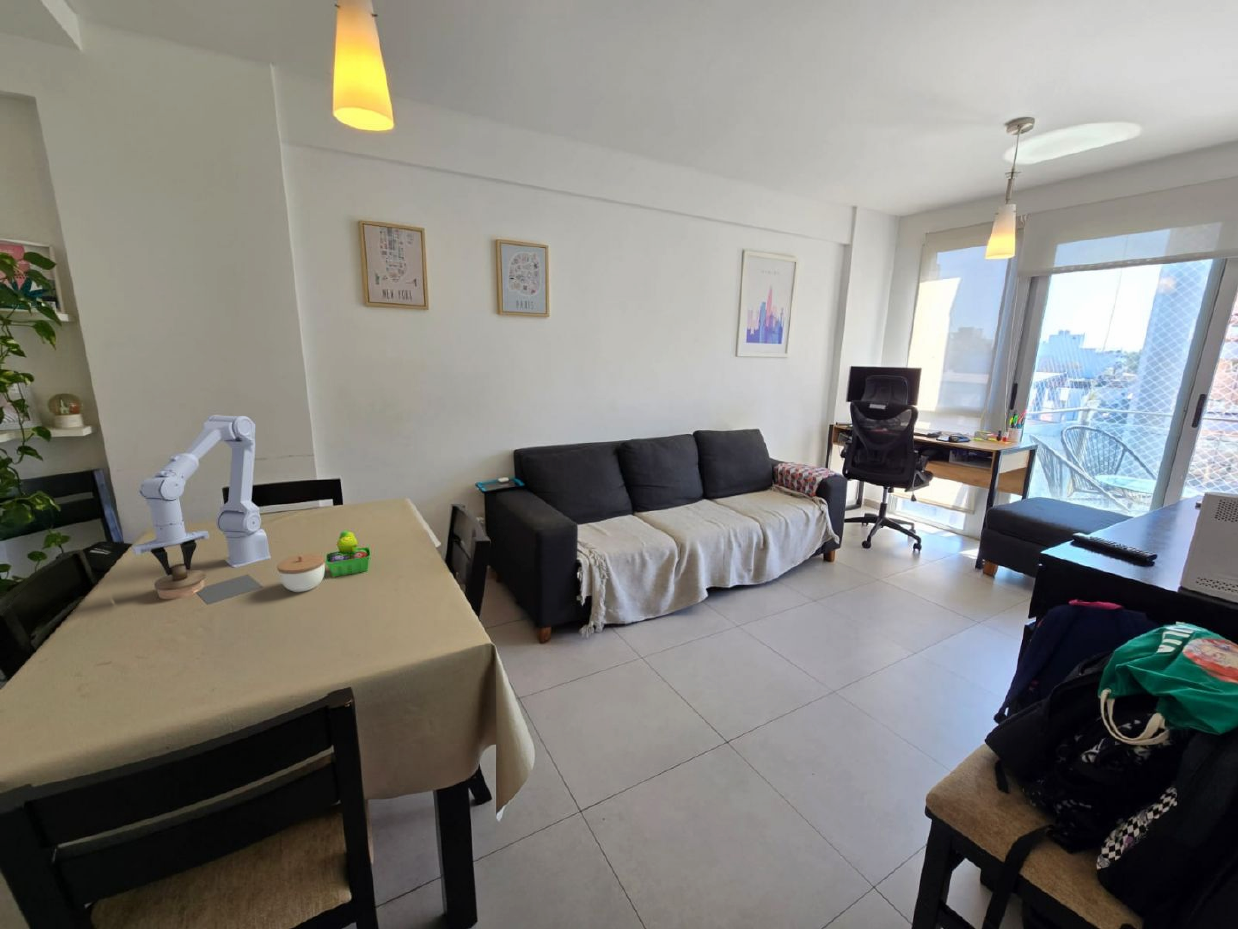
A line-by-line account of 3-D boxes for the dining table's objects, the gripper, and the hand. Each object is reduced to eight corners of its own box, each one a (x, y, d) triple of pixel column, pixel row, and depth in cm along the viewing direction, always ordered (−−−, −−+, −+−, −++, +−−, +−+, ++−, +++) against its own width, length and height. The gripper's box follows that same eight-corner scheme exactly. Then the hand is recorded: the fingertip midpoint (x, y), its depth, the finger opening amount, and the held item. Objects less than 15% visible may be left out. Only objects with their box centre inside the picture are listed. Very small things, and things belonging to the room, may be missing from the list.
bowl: (198, 580, 136) (196, 570, 136) (208, 590, 131) (206, 579, 130) (155, 592, 129) (153, 581, 129) (164, 603, 124) (161, 592, 123)
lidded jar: (336, 583, 136) (332, 552, 134) (297, 601, 127) (292, 567, 125) (311, 576, 141) (307, 545, 139) (272, 592, 131) (266, 559, 129)
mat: (247, 575, 140) (247, 574, 140) (263, 588, 133) (263, 587, 133) (194, 591, 131) (193, 589, 131) (208, 605, 124) (207, 604, 124)
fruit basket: (327, 579, 139) (322, 542, 136) (328, 567, 146) (324, 531, 144) (372, 572, 144) (368, 536, 141) (371, 560, 152) (368, 526, 149)
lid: (209, 570, 136) (206, 555, 135) (200, 585, 127) (197, 570, 126) (161, 577, 131) (158, 562, 130) (149, 593, 123) (145, 578, 122)
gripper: (199, 512, 134) (208, 558, 137) (125, 526, 122) (136, 576, 126) (207, 517, 130) (216, 565, 133) (132, 533, 118) (143, 585, 122)
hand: (178, 571), depth 129 cm, fingers open, 3 cm apart
